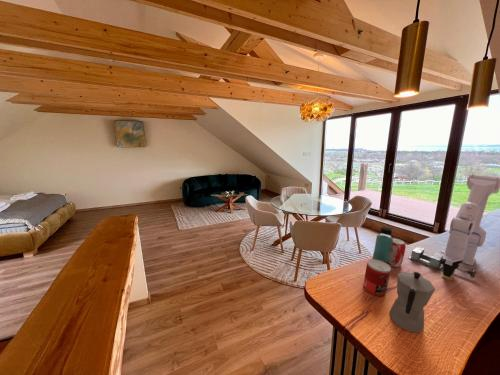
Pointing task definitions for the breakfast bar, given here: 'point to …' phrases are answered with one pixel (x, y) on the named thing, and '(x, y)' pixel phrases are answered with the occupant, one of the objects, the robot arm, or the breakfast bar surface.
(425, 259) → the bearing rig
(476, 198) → the robot arm
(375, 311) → the breakfast bar surface
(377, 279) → the canned food
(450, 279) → the block
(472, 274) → the shaft
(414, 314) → the coffeepot
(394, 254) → the soda can
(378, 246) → the beverage bottle
